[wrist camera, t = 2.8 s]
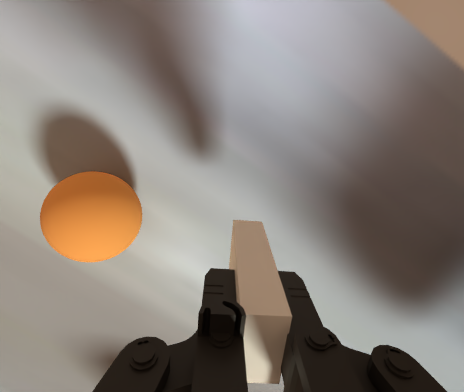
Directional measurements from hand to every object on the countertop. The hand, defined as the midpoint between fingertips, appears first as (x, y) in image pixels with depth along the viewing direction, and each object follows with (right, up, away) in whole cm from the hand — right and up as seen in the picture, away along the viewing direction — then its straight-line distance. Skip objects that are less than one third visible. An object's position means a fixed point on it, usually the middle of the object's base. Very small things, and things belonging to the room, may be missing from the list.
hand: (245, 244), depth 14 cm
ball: (-9, +1, +2) cm, 10 cm away
